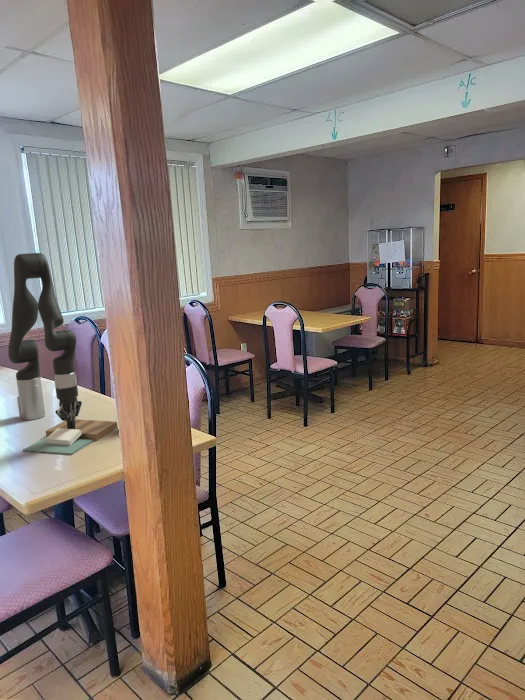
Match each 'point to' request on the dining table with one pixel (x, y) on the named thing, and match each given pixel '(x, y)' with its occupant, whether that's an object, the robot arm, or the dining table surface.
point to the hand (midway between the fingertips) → (71, 429)
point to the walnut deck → (88, 428)
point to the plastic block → (63, 436)
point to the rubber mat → (58, 446)
